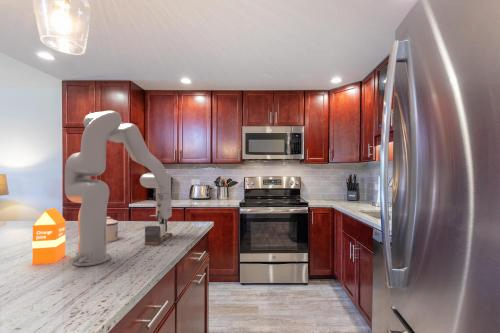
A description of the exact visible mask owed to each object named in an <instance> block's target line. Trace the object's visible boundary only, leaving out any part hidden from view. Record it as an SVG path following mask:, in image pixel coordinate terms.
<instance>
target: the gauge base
mask: <svg viewBox="0 0 500 333" xmlns="http://www.w3.org/2000/svg"><path fill="white" fill-rule="evenodd" d="M172 236H173V232H165V236H163V237H161V238H160V226H156V225H147V226H145V227H144V246H159V245H160V244H162V243H163V242H165V241H166V240H168V239H170V238H171V237H172Z"/></svg>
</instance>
